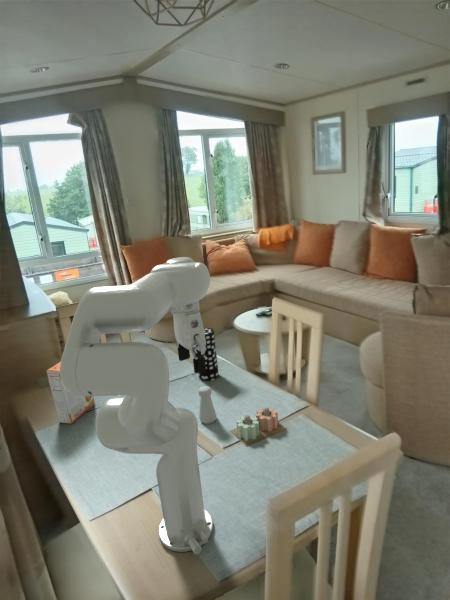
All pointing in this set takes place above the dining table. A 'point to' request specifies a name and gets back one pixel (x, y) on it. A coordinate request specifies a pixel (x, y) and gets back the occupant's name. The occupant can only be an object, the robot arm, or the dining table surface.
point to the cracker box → (67, 398)
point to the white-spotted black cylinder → (209, 357)
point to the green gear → (248, 428)
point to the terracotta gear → (267, 420)
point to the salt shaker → (206, 406)
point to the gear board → (262, 434)
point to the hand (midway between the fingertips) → (192, 365)
